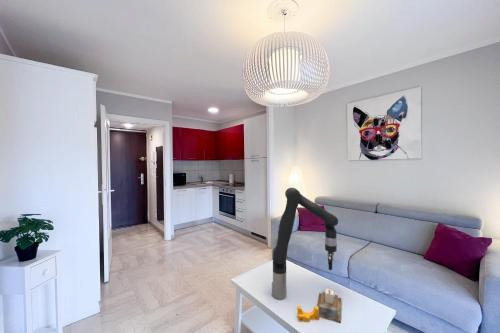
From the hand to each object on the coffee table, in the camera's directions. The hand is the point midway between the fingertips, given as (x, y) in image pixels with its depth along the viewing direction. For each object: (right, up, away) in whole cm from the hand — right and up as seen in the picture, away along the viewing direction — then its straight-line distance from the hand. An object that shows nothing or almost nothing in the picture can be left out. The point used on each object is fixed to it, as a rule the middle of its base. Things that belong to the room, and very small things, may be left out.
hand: (330, 268), depth 146 cm
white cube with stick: (-3, -18, -7) cm, 19 cm away
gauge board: (-5, -20, -11) cm, 23 cm away
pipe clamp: (-21, -20, -21) cm, 36 cm away
